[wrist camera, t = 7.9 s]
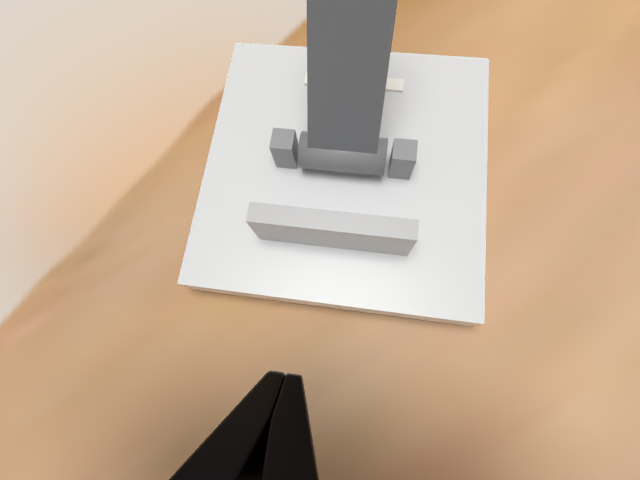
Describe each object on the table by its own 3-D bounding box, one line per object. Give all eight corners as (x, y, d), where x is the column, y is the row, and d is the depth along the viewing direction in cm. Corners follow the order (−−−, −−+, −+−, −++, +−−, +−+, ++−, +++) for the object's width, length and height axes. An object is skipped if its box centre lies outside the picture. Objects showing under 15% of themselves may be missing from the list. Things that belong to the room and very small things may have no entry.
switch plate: (471, 326, 20) (510, 319, 16) (191, 289, 22) (149, 273, 17) (477, 80, 25) (510, 16, 20) (243, 64, 26) (221, 1, 21)
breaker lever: (382, 183, 20) (428, -117, 12) (298, 175, 20) (290, -120, 13) (383, 164, 21) (425, -115, 14) (304, 156, 22) (301, -117, 14)
